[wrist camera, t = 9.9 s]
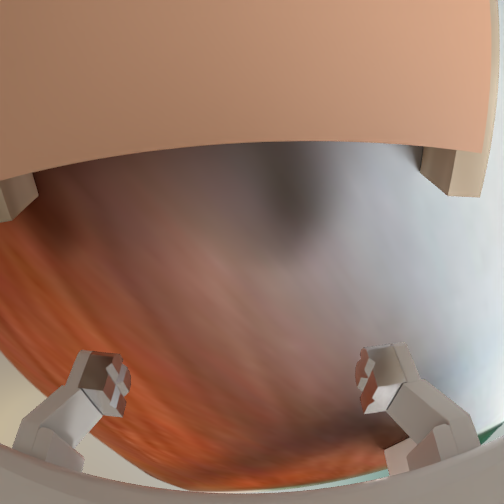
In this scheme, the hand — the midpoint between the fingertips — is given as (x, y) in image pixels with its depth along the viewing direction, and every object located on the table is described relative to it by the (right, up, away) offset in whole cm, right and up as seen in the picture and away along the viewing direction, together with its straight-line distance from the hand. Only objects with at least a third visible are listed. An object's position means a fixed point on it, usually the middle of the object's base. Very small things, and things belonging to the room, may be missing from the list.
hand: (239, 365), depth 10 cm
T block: (-1, +13, -4) cm, 14 cm away
